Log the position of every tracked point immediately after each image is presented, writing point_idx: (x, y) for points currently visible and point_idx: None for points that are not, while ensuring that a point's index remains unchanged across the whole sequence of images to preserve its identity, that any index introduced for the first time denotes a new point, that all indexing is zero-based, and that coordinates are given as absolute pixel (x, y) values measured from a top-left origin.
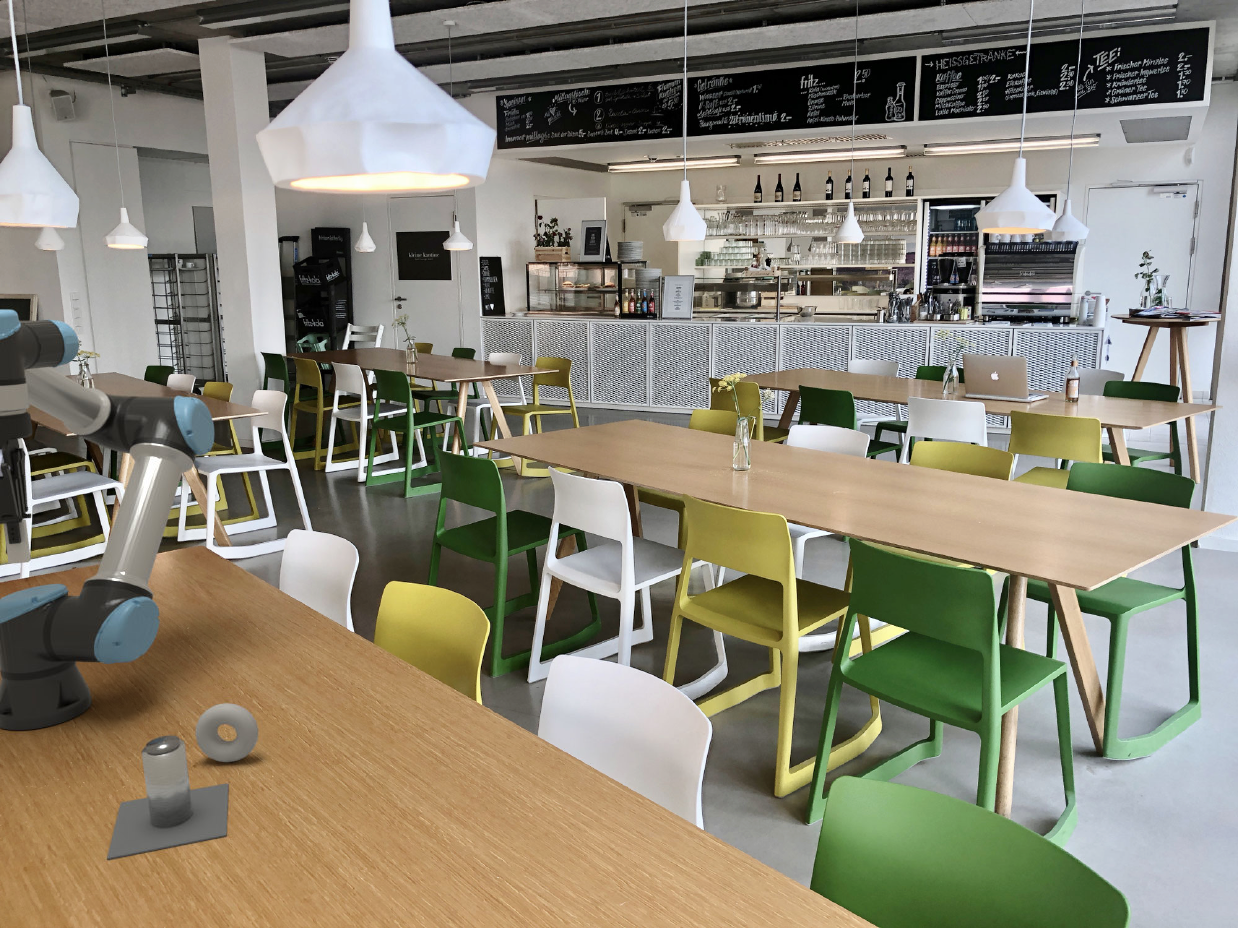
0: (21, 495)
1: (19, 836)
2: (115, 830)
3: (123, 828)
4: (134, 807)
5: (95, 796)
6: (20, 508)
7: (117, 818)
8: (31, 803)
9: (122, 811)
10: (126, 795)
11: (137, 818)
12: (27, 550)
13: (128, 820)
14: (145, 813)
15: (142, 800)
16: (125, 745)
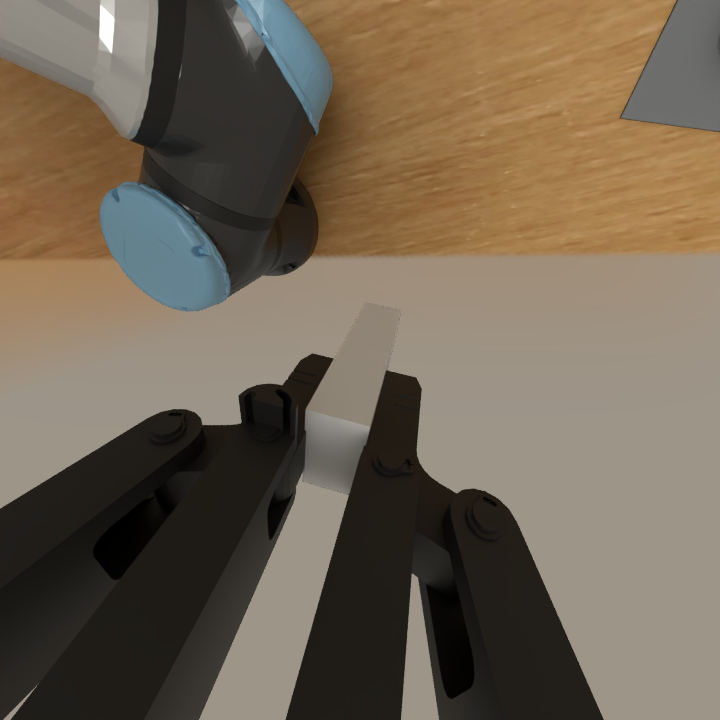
0: (189, 638)
1: (594, 246)
2: (705, 126)
3: (712, 113)
4: (658, 94)
5: (563, 156)
6: (357, 534)
7: (668, 123)
8: (518, 234)
9: (653, 115)
10: (598, 109)
11: (702, 89)
12: (391, 330)
13: (694, 105)
14: (697, 75)
15: (646, 80)
16: (426, 110)
